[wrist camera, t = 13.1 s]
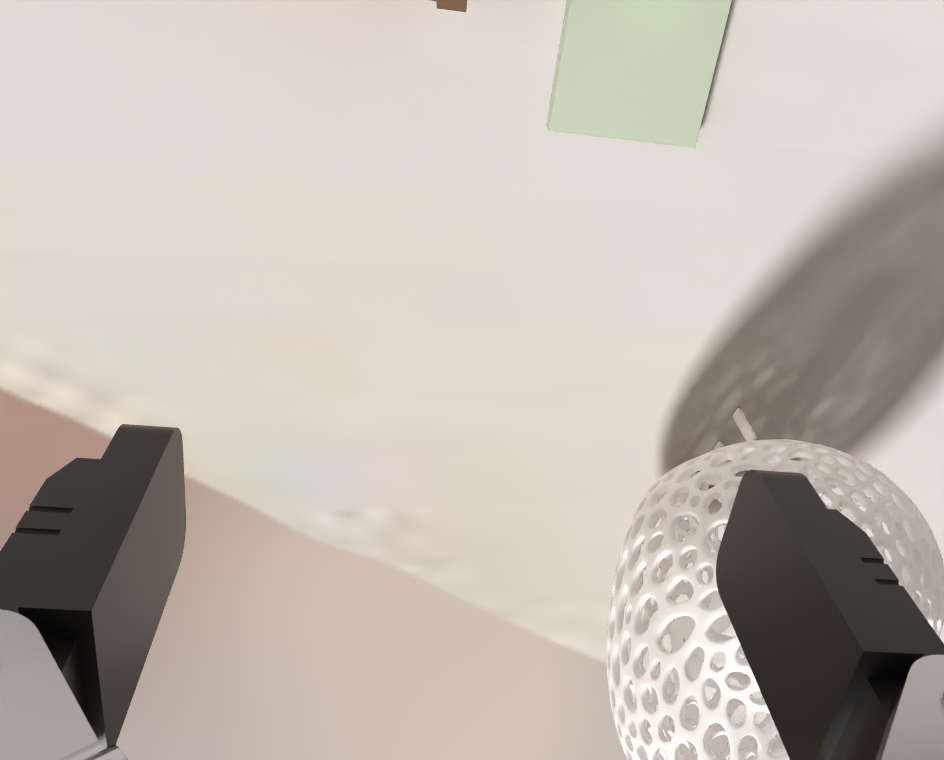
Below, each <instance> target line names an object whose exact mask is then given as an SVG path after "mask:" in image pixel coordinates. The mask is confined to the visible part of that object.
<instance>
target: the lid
mask: <svg viewBox="0 0 944 760" xmlns="http://www.w3.org/2000/svg"><path fill="white" fill-rule="evenodd" d="M731 1H732V0H567V2H566V8H565V14H564V20H563V27H562V33H561V39H560V45H559V51H558V57H557V63H556V69H555V75H554V82H553V88H552V94H551V100H550V106H549V112H548V118H547V124H546V125H547V128H548V130H549V131H554V132H562V133H571V134H579V135H588V136H596V137H605V138H614V139H622V140H631V141H639V142H648V143H656V144H665V145H674V146H682V147H691V148H695V146H696V142H697V138H698V134H699V130H700V126H701V122H702V118H703V114H704V110H705V106H706V102H707V98H708V94H709V90H710V86H711V82H712V78H713V74H714V70H715V66H716V62H717V58H718V54H719V50H720V46H721V42H722V38H723V34H724V30H725V26H726V22H727V18H728V14H729V9H730V5H731Z"/></svg>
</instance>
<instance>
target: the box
mask: <svg viewBox="0 0 944 760" xmlns="http://www.w3.org/2000/svg"><path fill="white" fill-rule="evenodd" d="M432 1H437V8H438V9H446V10H454V11H462V12H466V7H467V0H432Z"/></svg>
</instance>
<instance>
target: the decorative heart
mask: <svg viewBox="0 0 944 760" xmlns="http://www.w3.org/2000/svg"><path fill="white" fill-rule="evenodd" d="M732 417H733V418H734V420H735V422H736V424H737V426H738V427H739V429H740V431H741V433H742V435H743V436H744V438H745V440H746V442H741V443H736V444H732V445H728V446H725V447H724V446H723V444H722V442H720V441H718V442H717V444H716V445H715V447H714V448H713V449H714V450H712V451H710V452H708V453H705V454H703V455H700V456H698V457H696V458H693V459H691V460H688V461H686V462H684V463H682V464H680V465H678V466H677V467H675V468H673V469H672V470H670V471H669V472H667V473H666V474H664V475H663V476H662V477H661V478H660V479H659V480H657V481H656V482H655V483H654V484H653V485H652V486H651V487H650V489H649V490H648V491H647V493H646V494H645V496H644V497H643V499H642V500H641V502H640V504H639V506H638V508H637V509H636V511H635V514H634V516H633V519H632V521H631V524H630V526H629V529H628V531H627V534H626V537H625V540H624V543H623V546H622V550H621V553H620V557H619V560H618V564H617V568H616V572H615V577H614V582H613V588H612V593H611V599H610V605H609V615H608V631H607V676H608V686H609V696H610V703H611V708H612V713H613V719H614V722H615V725H616V729H617V732H618V735H619V739H620V742H621V745H622V748H623V751H624V753H625V755H626V757H627V760H662V758H661V756H660V754H661V755H662V756H663V758H664V759H665V760H694V759H693V757H694V755H695V753H698V759H697V760H745V759H746V758H747V757H749V756H750V755H755V758H754V759H753V760H790V759H789V756H788V754H787V752H786V749H785V747H784V745H783V742H782V740H781V738H780V735H779V733H778V731H777V728H776V726H775V724H774V721H773V719H772V717H771V714H770V712H769V710H768V708H767V705H766V703H765V701H764V698H761V699H757V698H755V697H753V696H752V693H753V692H755V691H760V689H759V687H758V684H757V682H756V680H755V677H754V675H753V673H752V670H751V668H750V666H749V663H748V662H747V661H744V659H745V658H746V656H745V654H744V652H743V649H742V647H741V645H740V642H739V640H738V638H737V635H736V633H735V631H734V628H733V626H732V624H731V621H730V619H729V617H728V614H727V612H726V610H725V607H724V605H723V603H722V600H721V598H720V595H719V592H718V588H717V582H716V561H717V555H718V551H719V548H720V544H721V541H720V540H719V538H718V532H717V530H718V527H719V526H721V525H723V526H724V530H725V529H726V526H727V522H728V519H729V516H730V513H731V510H732V507H733V504H734V500H735V497H736V494H737V491H738V487H737V486H739V485H740V482H741V479H742V478H743V476H742V477H738V476H735V474H736V473H738V472H740V471H745V470H747V471H749V470H765V471H779V472H794V473H801V474H803V475H805V476H806V477H807V479H808V480H809V482H810V483H811V485H812V486H813V488H814V489H815V491H816V492H817V494H818V495H819V497H820V498H821V500H822V494H824V495H826V496H827V497H828V498H829V499H830V500H831V501H832V505H831V506H830V507H829V506H827V505H826V504H825V503H824V502H823V503H824V504H825V506H826V507H827V509H837V510H838V511H839V512H840V513H842V514H843V515H844V516H846V517H849V518H851V519H852V520H853V521H854V524H855V525H857V526H858V527H859V528H860V529H862V530H863V531H864V530H865V529H866V528H869V529H870V530H872V532H873V537H869V536H868V537H869V538H870V540H871V541H872V542H873V544H874V545H875V547H876V548H877V550H878V551H879V552H880V554H881V555H882V557H883V558H884V564H888V565H889V567H890V568H891V569H892V571H893V572H894V574H895V575H896V577H897V578H898V579H899V586H903V587H904V588H905V589H906V591H907V592H908V594H909V595H910V597H911V598H912V599H913V601H914V602H915V604H916V605H917V607H918V608H919V609H920V611H921V612H922V614H923V615H924V617H925V618H926V619H927V621H928V622H929V624H930V625H931V627H932V628H933V629H934V631H935V632H936V634H937V635H938V637H940V633H941V629H942V626H943V622H944V564H943V559H942V556H941V553H940V550H939V548H938V545H937V542H936V540H935V537H934V535H933V533H932V531H931V529H930V527H929V525H928V523H927V522H926V520H925V518H924V517H923V515H922V514H921V512H920V511H919V509H918V508H917V506H916V505H915V504H914V503H913V502H912V500H911V499H910V498H909V497H908V496H907V495H906V494H905V493H904V492H903V491H902V490H901V489H900V488H899V487H898V486H897V485H896V484H895V483H894V482H893V481H892V480H890V479H889V478H888V477H887V476H886V475H885V474H883V473H882V472H881V471H879V470H878V469H876V468H874V467H873V466H871V465H869V464H868V463H866V462H864V461H862V460H861V459H859V458H857V457H854V456H852V455H850V454H847V453H845V452H842V451H840V450H837V449H834V448H831V447H828V446H824V445H820V444H815V443H810V442H805V441H799V440H789V439H771V440H756V439H757V436H756V435H755V433H754V431H753V429H752V428H751V426H750V424H749V422H748V421H747V419H746V417H745V416H744V414H743V412H742V410H741V409H740V408H737V409H736V411H735V412H734V414H733V415H732ZM795 457H797V458H800V459H802V460H791V459H792V458H795ZM728 460H732V461H730V462H727V461H728ZM697 471H700V472H697ZM695 472H697V473H695ZM805 473H807V474H805ZM702 484H703V485H702ZM830 484H832V485H830ZM850 484H852V485H850ZM710 485H715V486H714V487H712V488H711V489H710V488H709V486H710ZM701 486H702V487H701ZM700 487H701V490H700ZM865 493H867V494H868V495H869V496H870V497H867V496H866V495H865ZM686 498H687V500H686ZM714 499H717V500H718V501H719V502H720V503H721V504H722V507H721V509H720V510H719V511H718V512H717V513H716V514H713V515H711V513H710V511H709V508H708V507H709V505H710V504H711V502H712V501H713V500H714ZM660 500H661V501H660ZM675 501H676V502H677V503H676V504H675V506H674V503H675ZM685 501H686V502H685ZM698 503H699V504H698ZM859 505H861V506H863V507H865V509H866V512H864V511H862V510H860V509H859V508H858V506H859ZM840 507H845V508H843V509H840ZM660 517H661V522H660V526H659V527H657V528H655V526H656V524H657V522H658V520H659V518H660ZM684 517H688V519H687V520H685V519H684ZM697 519H698V520H697ZM698 521H699V522H698ZM882 522H883V523H885V524H886V525H887V527H888V530H889V535H888V534H887V533H886V532H885V531H884V529H883V526H882ZM689 530H690V534H689V533H688V531H689ZM712 533H713V539H714V542H713V541H712V539H711V538H710V536H711V534H712ZM683 538H685V539H686V540H684V541H682V540H683ZM662 541H663V542H662ZM642 544H643V546H642V549H641V545H642ZM709 547H710V548H709ZM885 548H886V549H887V550H888V552H889V553H890V555H891V558H892V562H893V563H892V562H890V561H889V560H888V559H887V557H886V555H885ZM640 549H641V552H640ZM710 549H711V550H712V551H713V553H712V552H711V550H710ZM690 551H691V552H690ZM689 552H690V553H689ZM688 553H689V555H688V556H687V554H688ZM686 556H687V557H686ZM690 562H693V566H692V567H691V568H688V569H687V568H686V567H687V565H688V564H689V563H690ZM658 568H660V574H659V577H657V572H658ZM644 569H645V571H646V575H645V578H644V582H643V570H644ZM703 571H706V572H707V573H708V583H707V584H706V583H705V582H704V581H703V579H702V572H703ZM667 572H668V577H667V578H666V579H665V575H666V573H667ZM684 578H685V579H687V580H688V581H689V582H687V583H684V581H683V579H684ZM664 579H665V580H664ZM681 594H686V595H687V596H688V598H689V600H687V601H685V602H683V603H678V604H677V603H676V602H675V601H676V599H677V598H678V597H679V596H680V595H681ZM650 597H653V598H654V599H655V600H654V602H653V604H652V605H651V603H650ZM709 604H710V605H709ZM643 607H644V614H643V618H642V621H641V622H640V620H641V614H642V609H643ZM708 607H709V608H708ZM656 610H658V612H657V615H656V618H655V620H654V622H653V623H652V624H651V626H650V627H649V628H648V625H649V621H650V618H651V616H652V615H653V613H654V612H655V611H656ZM675 618H676V619H675ZM666 634H669V635H671V645H672V651H671V652H670V651H668V650H667V649H665V647H664V646H663V643H662V638H663V637H664V636H665V635H666ZM648 649H649V662H648V666H647V669H646V671H645V669H644V666H643V658H644V655H645V653H646V651H647V650H648ZM660 663H661V672H660V669H659V665H660ZM715 665H717V666H720V667H721V668H717V667H716V666H715ZM672 668H673V672H674V683H673V682H672V681H671V679H670V671H671V669H672ZM743 673H745V674H743ZM728 678H733V679H736V680H738V681H739V682H740V686H736V685H733V684H731V683H730V682H729V680H728ZM629 687H630V689H631V690H632V693H633V703H632V701H631V697H630V691H629ZM647 688H648V689H649V692H650V696H651V698H650V701H649V702H648V700H647ZM673 694H675V695H678V697H677V699H676V700H675V702H671V700H670V699H671V696H672V695H673ZM712 696H713V697H712ZM711 697H712V699H711ZM731 698H734V699H733V700H731V701H729V700H730V699H731ZM692 703H693V704H696V705H697V706H698V707H699V712H700V713H699V716H698V717H697V718H696V719H689V718H688V717H687V716H686V712H685V711H686V707H687V706H688V705H689V704H692ZM656 705H658V707H657V710H656ZM742 706H745V707H746V709H747V711H746V715H745V717H744V719H743V721H742V722H740V723H739V724H734V723H733V722H732V721H731V716H732V714H733V713H734V711H735V710H736V709H738V708H739V707H742ZM759 711H764V712H767V716H766V718H765V719H764V721H763V722H761V723H760V724H755V717H756V714H757V713H758V712H759ZM665 715H668V721H667V724H666V725H664V724H663V719H664V717H665ZM673 722H674V723H675V729H674V726H673ZM713 723H719V725H717V726H714V727H711V726H710V725H711V724H713ZM648 731H649V732H650V734H651V736H652V741H650V738H649V732H648ZM667 733H669V734H670V735H671V737H672V738H671V739H668V736H667ZM718 735H727V736H728V744H727V746H726V748H725V750H724V751H723V752H722V753H720V754H714V753H713V752H712V751H711V748H710V743H711V741H712V740H713V739H714V738H715V737H716V736H718ZM746 735H751V736H752V739H751V742H750V743H749V744H748V746H747V747H745V748H744V749H741V750H739V743H740V740H741V739H742V737H744V736H746ZM774 735H775V741H774V744H773V747H772V748H771V749H770V750H769V751H768V744H769V741H770V740H771V738H772V737H773V736H774ZM680 743H684V744H685V745H686V746H687V747H688V749H689V754H688V755H687V756H685V757H684V756H682V755H681V754H680V753H679V750H678V747H679V744H680Z"/></svg>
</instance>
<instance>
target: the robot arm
mask: <svg viewBox="0 0 944 760" xmlns="http://www.w3.org/2000/svg"><path fill="white" fill-rule="evenodd" d="M185 532H186V508H185V487H184V463H183V442H182V435H181V431H180V429H179V428H171V427H157V426H143V425H129V424H123V425H121V426H120V427H119V428H118V430H117V431H116V433H115V435H114V437H113V439H112V440H111V442H110V444H109V446H108V447H107V449H106V451H105V453H104V455H103V456H102V458H101V459H87V458H76V459H74V460H73V461H72V462H70V463H69V464H67V465H66V466H65V467H63V468H62V469H60V470H59V471H58V472H56V473H55V474H53V475H52V476H50V477H49V478H47V479H46V481H45V482H44V484H43V485H42V487H41V488H40V490H39V492H38V493H37V495H36V496H35V498H34V499H33V501H32V503H31V504H30V509H29V511H26V512H25V514H24V515H23V517H22V519H21V520H20V521H19V523H18V525H17V526H16V531H15V533H12V534H11V536H10V537H9V539H8V541H7V542H6V543H5V545H4V547H3V548H2V550H1V551H0V760H128V758H127V757H126V755H125V754H124V753H123V751H122V750H121V749H120V748H119V747H118V746H116V742H117V739H118V737H119V734H120V731H121V728H122V725H123V722H124V720H125V717H126V714H127V711H128V708H129V705H130V703H131V700H132V697H133V694H134V692H135V689H136V686H137V683H138V680H139V678H140V675H141V672H142V669H143V666H144V664H145V661H146V658H147V655H148V652H149V649H150V646H151V644H152V641H153V638H154V635H155V632H156V630H157V627H158V624H159V621H160V618H161V616H162V613H163V610H164V607H165V604H166V602H167V599H168V596H169V593H170V590H171V588H172V584H173V582H174V579H175V576H176V574H177V570H178V568H179V565H180V562H181V558H182V553H183V548H184V541H185ZM716 582H717V588H718V592H719V595H720V598H721V600H722V603H723V605H724V607H725V610H726V612H727V614H728V617H729V619H730V621H731V624H732V626H733V628H734V631H735V633H736V635H737V638H738V640H739V642H740V645H741V647H742V649H743V652H744V654H745V656H746V659H747V661H748V663H749V666H750V668H751V670H752V673H753V675H754V677H755V680H756V682H757V684H758V687H759V689H760V691H761V694H762V696H763V698H764V701H765V703H766V705H767V708H768V710H769V712H770V714H771V717H772V719H773V721H774V724H775V726H776V728H777V731H778V733H779V735H780V738H781V740H782V742H783V745H784V747H785V749H786V752H787V754H788V756H789V759H790V760H944V644H943V642H942V641H941V639H940V638H939V637H938V635H937V634H936V632H935V631H934V629H933V628H932V627H931V625H930V624H929V622H928V621H927V619H926V618H925V617H924V615H923V614H922V612H921V611H920V609H919V608H918V607H917V605H916V604H915V602H914V601H913V599H912V598H911V597H910V595H909V594H908V592H907V591H906V589H905V588H904V587H903V586H899V579H898V578H897V577H896V575H895V574H894V572H893V571H892V569H891V568H890V567H889V565H888V564H884V558H883V557H882V555H881V554H880V552H879V551H878V550H877V548H876V547H875V545H874V544H873V542H872V541H871V540H870V538H869V537H868V535H867V534H866V533H865V532H864V531H863V530H862V529H860V528H859V527H858V526H857V525H855V524H854V523H853V522H852V521H850V520H849V519H848V518H847V517H845V516H844V515H843V514H842V513H840V512H839V511H838V510H837V509H827V507H826V506H825V504H824V503H823V501H822V500H821V498H820V497H819V495H818V494H817V492H816V491H815V489H814V488H813V486H812V485H811V483H810V482H809V480H808V479H807V477H806V476H805V475H803V474H801V473H794V472H779V471H765V470H749V471H747V472H746V473H745V474H744V476H743V478H742V479H741V482H740V485H739V488H738V491H737V494H736V497H735V500H734V504H733V507H732V510H731V513H730V516H729V519H728V522H727V526H726V529H725V532H724V535H723V538H722V541H721V544H720V548H719V551H718V555H717V561H716Z"/></svg>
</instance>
